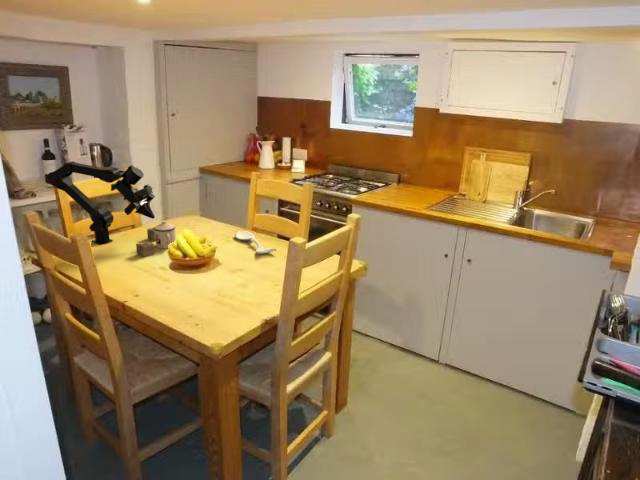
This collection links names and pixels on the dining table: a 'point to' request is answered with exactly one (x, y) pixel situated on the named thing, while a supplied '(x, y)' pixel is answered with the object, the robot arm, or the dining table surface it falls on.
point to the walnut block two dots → (145, 249)
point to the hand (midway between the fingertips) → (154, 217)
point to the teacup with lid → (164, 234)
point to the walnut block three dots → (151, 234)
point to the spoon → (249, 236)
